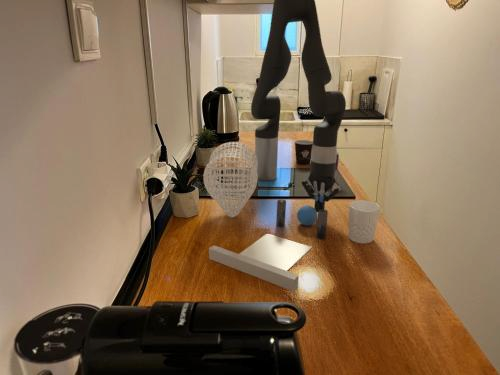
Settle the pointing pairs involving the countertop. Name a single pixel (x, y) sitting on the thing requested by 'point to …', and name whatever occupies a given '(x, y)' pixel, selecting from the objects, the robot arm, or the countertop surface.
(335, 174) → the energy drink
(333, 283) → the countertop surface
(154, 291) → the countertop surface
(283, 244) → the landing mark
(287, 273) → the stopper wall
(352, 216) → the white cup
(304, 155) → the coffee mug
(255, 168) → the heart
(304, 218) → the ball
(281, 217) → the left post
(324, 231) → the right post
